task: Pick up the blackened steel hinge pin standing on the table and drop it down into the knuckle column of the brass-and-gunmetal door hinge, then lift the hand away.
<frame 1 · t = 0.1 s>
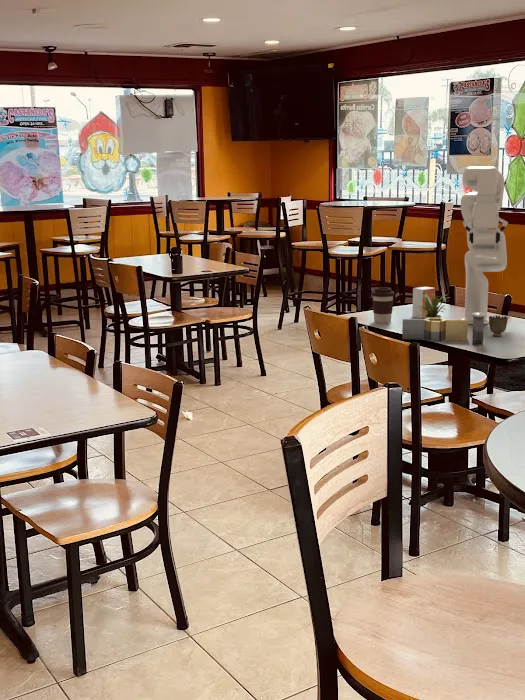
hand: (484, 243, 346), 37 cm above the table, tool pointing down, fingers open, 9 cm apart
hinge: (434, 339, 343), on the table
coffee cup: (382, 322, 380), on the table
hinge pin: (477, 344, 334), on the table
small box: (423, 316, 392), on the table
cup: (497, 337, 347), on the table
house plant: (435, 331, 360), on the table
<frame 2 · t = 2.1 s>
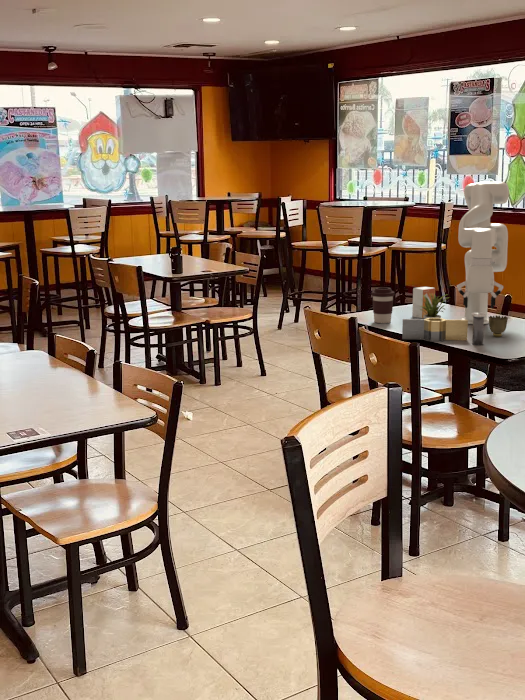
hand: (479, 307, 330), 14 cm above the table, tool pointing down, fingers open, 9 cm apart
nothing on the table moved.
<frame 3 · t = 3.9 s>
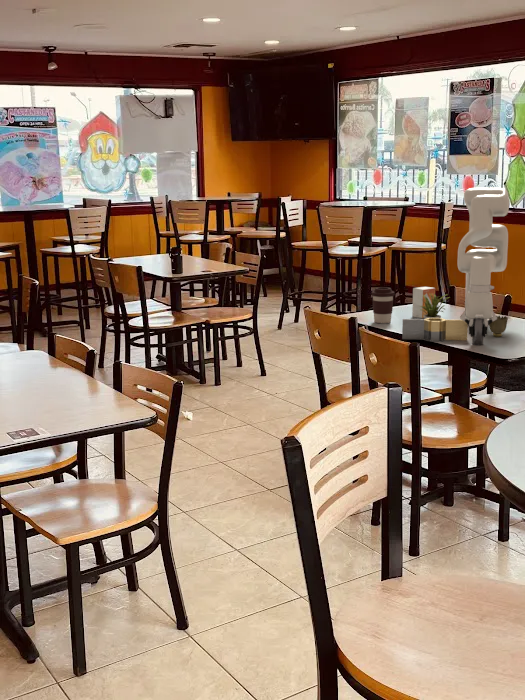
hand: (477, 335, 333), 3 cm above the table, tool pointing down, fingers closed on hinge pin, 4 cm apart
hinge pin: (477, 344, 334), on the table, touching gripper
everything else where it was.
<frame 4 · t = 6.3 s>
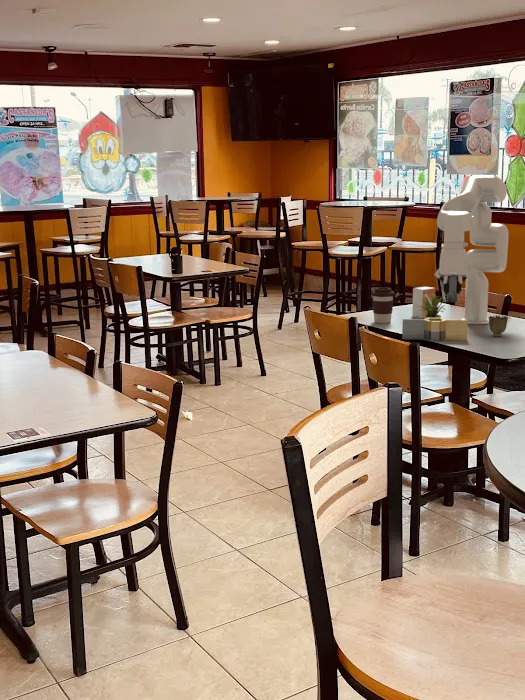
hand: (452, 292, 335), 19 cm above the table, tool pointing down, fingers closed on hinge pin, 4 cm apart
hinge pin: (452, 301, 336), point 16 cm above the table, touching gripper
everything else where it was.
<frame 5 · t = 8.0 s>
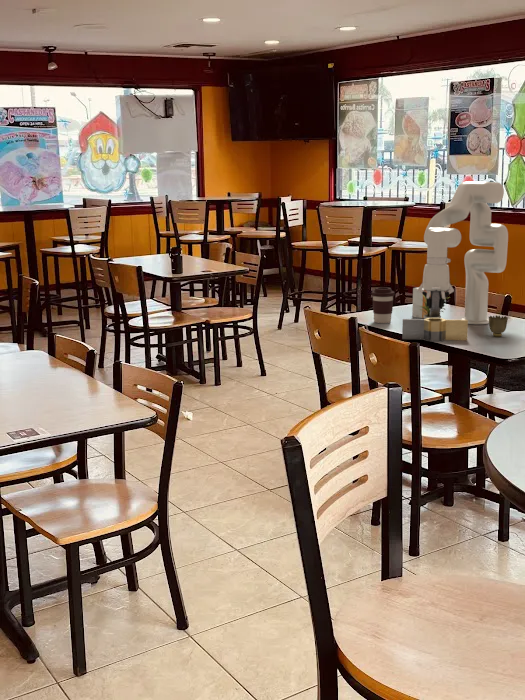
hand: (435, 307, 340), 13 cm above the table, tool pointing down, fingers closed on hinge pin, 4 cm apart
hinge pin: (434, 316, 341), point 9 cm above the table, touching gripper
everything else where it was.
when the fingers open (9 cm above the table, at t = 9.1 s): hinge pin drops 2 cm, resting in hinge.
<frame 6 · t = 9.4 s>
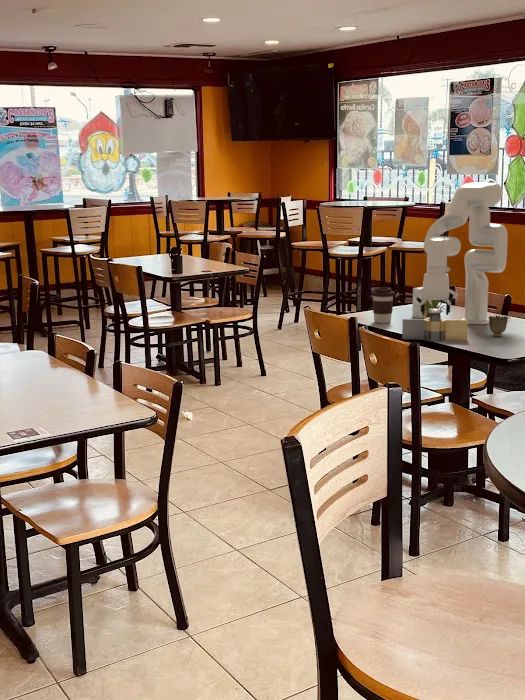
hand: (435, 314, 341), 10 cm above the table, tool pointing down, fingers open, 8 cm apart
hinge pin: (434, 339, 343), resting in hinge
everything else where it was.
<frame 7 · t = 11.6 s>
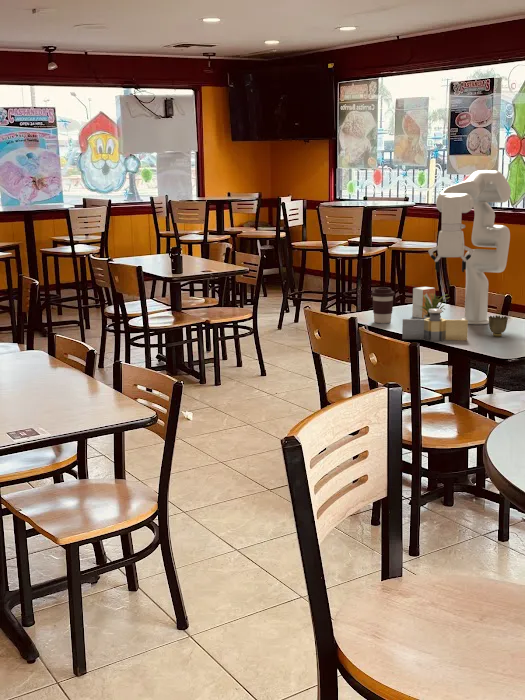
hand: (450, 271, 341), 26 cm above the table, tool pointing down, fingers open, 9 cm apart
nothing on the table moved.
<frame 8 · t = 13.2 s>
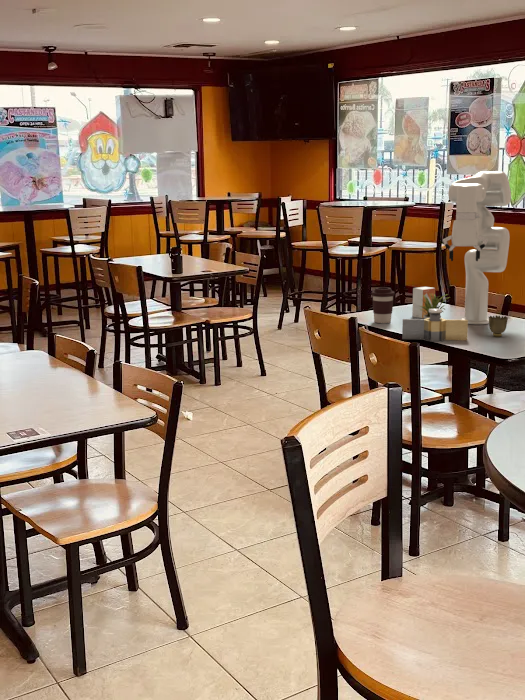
hand: (464, 260, 342), 30 cm above the table, tool pointing down, fingers open, 9 cm apart
nothing on the table moved.
at the end: hinge pin 0.1 cm off-centre on the hinge, point 0.0 cm above the hinge's base; hinge pin tilted 0°; the gripper is holding nothing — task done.
